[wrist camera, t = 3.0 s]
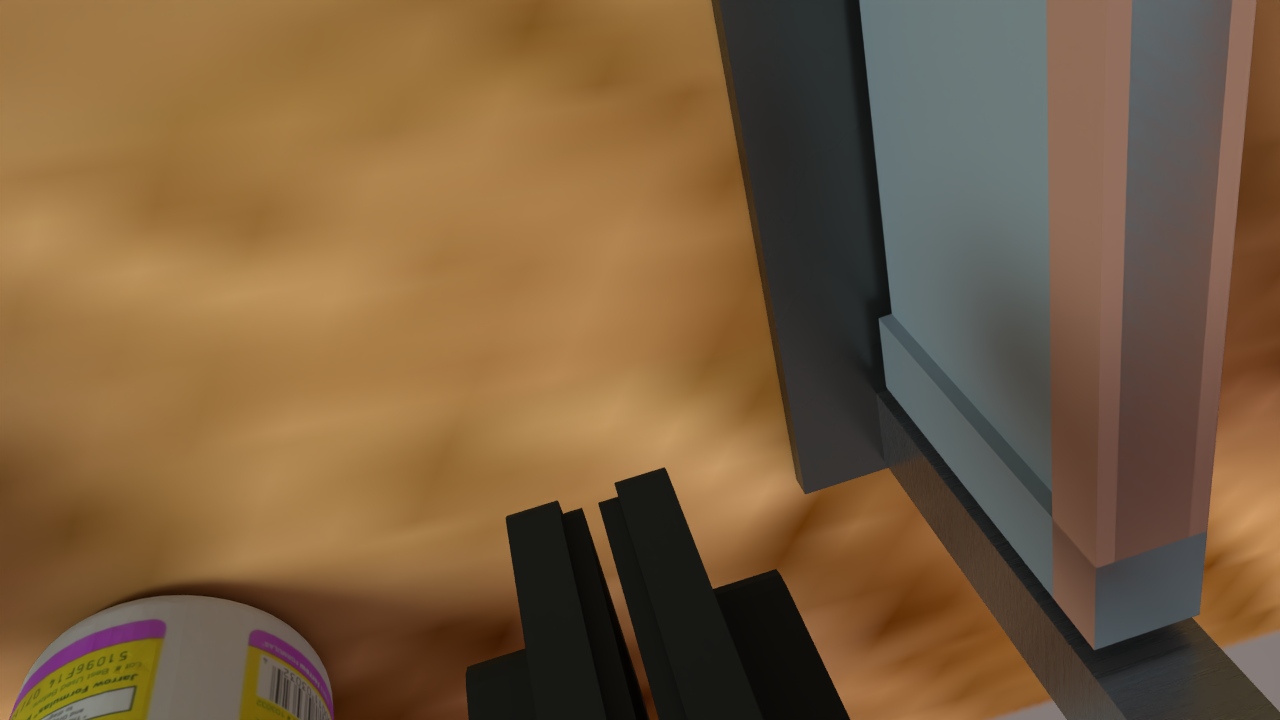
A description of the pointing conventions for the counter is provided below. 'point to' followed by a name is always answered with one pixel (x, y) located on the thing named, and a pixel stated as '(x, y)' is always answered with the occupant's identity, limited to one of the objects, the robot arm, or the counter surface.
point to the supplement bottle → (177, 666)
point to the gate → (1066, 273)
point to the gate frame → (854, 369)
